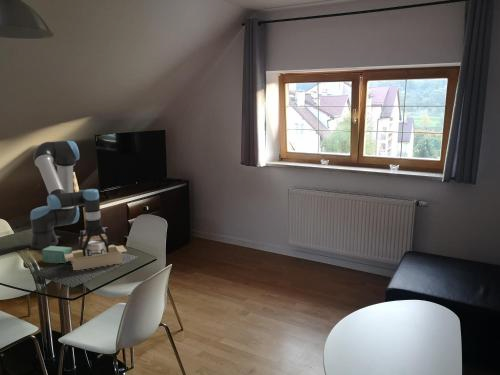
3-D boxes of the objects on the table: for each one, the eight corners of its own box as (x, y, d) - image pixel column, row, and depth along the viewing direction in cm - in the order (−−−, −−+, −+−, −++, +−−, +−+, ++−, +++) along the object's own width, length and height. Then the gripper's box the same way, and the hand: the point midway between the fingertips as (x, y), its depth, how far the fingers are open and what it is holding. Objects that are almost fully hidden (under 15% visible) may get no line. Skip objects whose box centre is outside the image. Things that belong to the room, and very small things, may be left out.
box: (64, 264, 221) (63, 250, 219) (42, 262, 224) (41, 249, 222) (73, 259, 228) (72, 246, 226) (51, 258, 231) (50, 245, 229)
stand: (80, 254, 236) (78, 237, 234) (105, 250, 243) (104, 233, 241) (82, 259, 228) (80, 242, 226) (108, 255, 234) (107, 238, 232)
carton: (64, 263, 222) (63, 249, 221) (121, 253, 236) (120, 240, 235) (67, 274, 206) (66, 260, 205) (129, 263, 220) (128, 249, 219)
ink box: (87, 264, 220) (85, 243, 218) (93, 261, 225) (91, 240, 223) (100, 265, 218) (98, 244, 215) (106, 262, 222) (104, 241, 220)
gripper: (71, 223, 209) (75, 265, 213) (115, 217, 219) (118, 258, 223) (69, 220, 215) (73, 261, 219) (113, 214, 225) (116, 254, 229)
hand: (96, 259), depth 221 cm, fingers closed on ink box, 9 cm apart
